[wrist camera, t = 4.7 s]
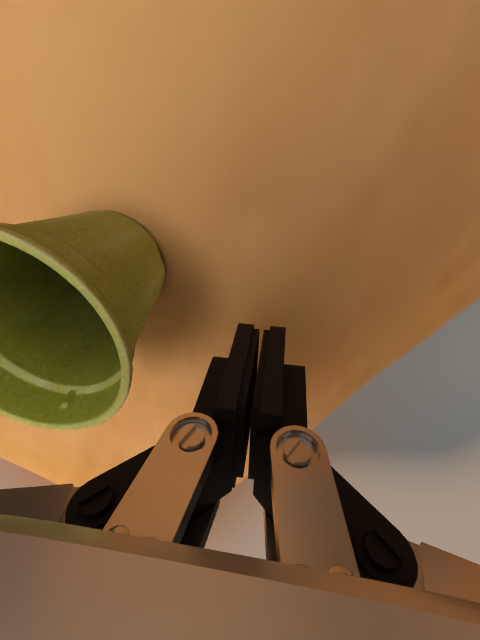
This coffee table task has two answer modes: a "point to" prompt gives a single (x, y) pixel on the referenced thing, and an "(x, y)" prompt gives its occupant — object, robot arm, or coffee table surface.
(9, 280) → the plant pot
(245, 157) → the coffee table surface
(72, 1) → the coffee table surface
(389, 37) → the coffee table surface
